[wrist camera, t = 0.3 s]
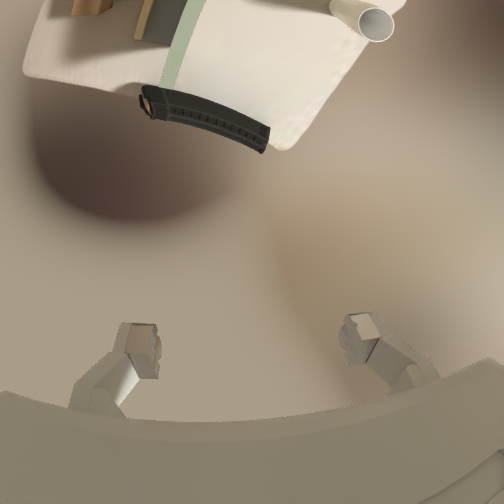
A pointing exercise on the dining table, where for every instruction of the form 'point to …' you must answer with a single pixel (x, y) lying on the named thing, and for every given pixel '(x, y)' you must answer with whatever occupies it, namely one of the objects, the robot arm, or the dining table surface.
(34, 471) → the robot arm
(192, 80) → the dining table surface
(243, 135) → the magazine
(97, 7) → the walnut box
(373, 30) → the drinking glass
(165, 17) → the wall board
